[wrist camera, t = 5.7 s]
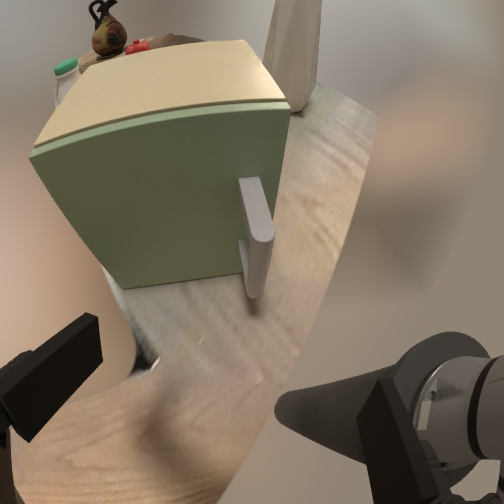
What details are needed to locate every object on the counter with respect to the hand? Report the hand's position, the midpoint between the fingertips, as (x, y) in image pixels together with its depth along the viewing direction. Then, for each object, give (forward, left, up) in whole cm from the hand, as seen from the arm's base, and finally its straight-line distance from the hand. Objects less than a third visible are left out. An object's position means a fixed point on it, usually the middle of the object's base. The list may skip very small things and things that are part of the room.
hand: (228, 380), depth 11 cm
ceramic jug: (+36, -122, -18) cm, 129 cm away
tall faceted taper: (-19, -52, -18) cm, 58 cm away
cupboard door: (+3, -11, -18) cm, 22 cm away
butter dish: (+20, -103, -18) cm, 107 cm away
